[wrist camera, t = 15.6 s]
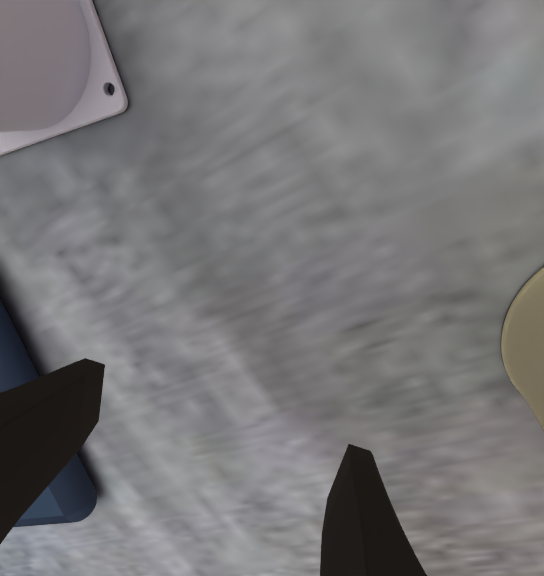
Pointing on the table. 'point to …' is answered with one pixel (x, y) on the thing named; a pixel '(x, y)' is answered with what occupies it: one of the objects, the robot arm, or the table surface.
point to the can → (526, 344)
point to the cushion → (73, 478)
